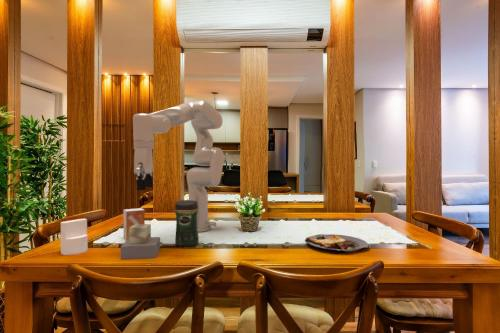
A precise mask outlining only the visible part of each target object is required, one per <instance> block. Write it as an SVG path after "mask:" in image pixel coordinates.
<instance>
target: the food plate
mask: <svg viewBox="0 0 500 333" xmlns="http://www.w3.org/2000/svg"><path fill="white" fill-rule="evenodd" d="M304 242H305V244H308V245H310V246H312V247H314V248H318V249H324V250H326V251H327V250H328V251H335V252H336V251H337V252H340V251H341V252H344V253H345V252H346V253H347V252H348V253H351V252H353V253H354V252H356V251H358V250H362V249H364V248H368V247H369V244H368V242H367V241H365V240H363V239H362V238H359V237H354V236H351V235H344V234H334V233H333V234H329V233H328V234H327V233H325V234H324V233H321V234H315V235H311V236H307V237H306V238H305V240H304ZM351 247H354V248H351Z"/></svg>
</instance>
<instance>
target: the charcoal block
mask: <svg viewBox="0 0 500 333" xmlns="http://www.w3.org/2000/svg"><path fill="white" fill-rule="evenodd" d="M160 250H161V236H151V240H150V241H149V242H147V243H146V244H129V238H128V239H127V240H126V239H125V242H123V244H122V245H120V260H137V259H139V260H141V259H156V258H157V256H158V253H159V252H160Z"/></svg>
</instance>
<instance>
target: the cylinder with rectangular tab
mask: <svg viewBox="0 0 500 333" xmlns="http://www.w3.org/2000/svg"><path fill="white" fill-rule="evenodd" d="M87 251H88V219H87V218H78V219H72V220H66V221H60V254H61V255H64V256H73V255H74V256H75V255H79V254H84V253H86V252H87Z"/></svg>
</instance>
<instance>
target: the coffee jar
mask: <svg viewBox="0 0 500 333" xmlns="http://www.w3.org/2000/svg"><path fill="white" fill-rule="evenodd" d="M197 212H198V205H197V201H194V200H189V199H188V200H185V199H184V200H183V199H182V200H177V201H176V202H175V205H174V213H175V217H176V220H175V222H176V224H175V238H174V244H175V245H176V246H178V247H179V246H180V247H190V246H195V245H198V243H199V241H200V239H199V232H198V229H197Z"/></svg>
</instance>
